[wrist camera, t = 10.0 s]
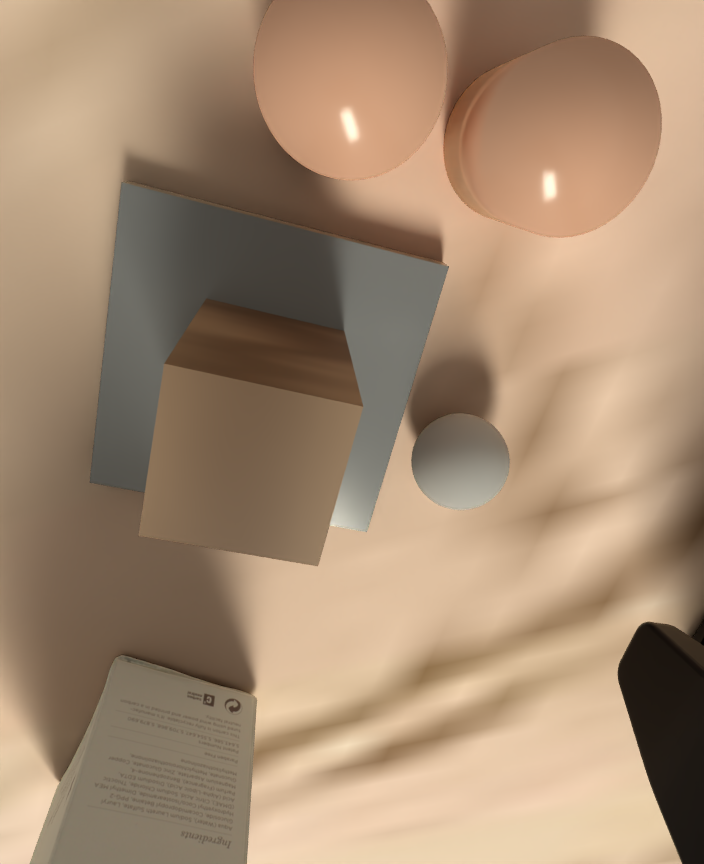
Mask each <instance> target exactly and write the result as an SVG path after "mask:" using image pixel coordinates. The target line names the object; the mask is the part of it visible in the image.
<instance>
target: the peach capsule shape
mask: <svg viewBox="0 0 704 864" xmlns="http://www.w3.org/2000/svg"><path fill="white" fill-rule="evenodd" d="M447 75H448V74H447V54H446V46H445V42H444V38H443V34H442V31H441V28H440V25H439V23H438V20H437V18H436V16H435V14H434V12H433V10H432V8H431V6H430V4H429V3H428V2H427V0H273V1H272V3H271V4H270V6H269V8H268V10H267V12H266V14H265V16H264V18H263V20H262V23H261V26H260V28H259V31H258V35H257V40H256V44H255V50H254V60H253V77H254V85H255V92H256V96H257V100H258V104H259V107H260V110H261V112H262V115H263V118H264V120H265V122H266V124H267V126H268V128H269V130H270V131H271V133H272V134H273V136H274V137H275V139H276V140H277V142H278V143H279V144H280V145H281V146H282V148H283V149H284V150H285V151H286V152H287V153H288V154H289V155H290V156H291V157H293V158H294V159H295V160H296V161H297V162H299V163H300V164H302V165H303V166H305V167H306V168H308V169H310V170H312V171H314V172H316V173H318V174H321V175H324V176H327V177H330V178H335V179H340V180H362V179H368V178H372V177H376V176H379V175H382V174H384V173H387V172H389V171H391V170H392V169H394V168H396V167H398V166H399V165H401V164H402V163H403V162H405V161H406V160H407V159H409V158H410V157H411V156H412V155H413V154H414V153H415V152H416V151H417V150H418V149H419V148H420V146H421V145H422V144H423V143H424V141H425V140H426V139H427V137H428V136H429V134H430V132H431V131H432V129H433V127H434V125H435V123H436V121H437V119H438V117H439V114H440V111H441V108H442V105H443V101H444V97H445V92H446V85H447Z"/></svg>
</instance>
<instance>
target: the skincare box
mask: <svg viewBox="0 0 704 864" xmlns="http://www.w3.org/2000/svg"><path fill="white" fill-rule="evenodd" d="M256 706H257V699H256V697H255V696H253V695H251V694H249V693H246V692H243V691H240V690H236V689H232V688H227V687H223V686H219V685H216V684H213V683H209V682H206V681H203V680H200V679H197V678H194V677H191V676H188V675H185V674H183V673H180V672H177V671H174V670H171V669H168V668H165V667H161V666H158V665H155V664H151V663H148V662H145V661H142V660H138V659H135V658H132V657H129V656H124V655H121V656H119V657H117V658H115V660H114V662H113V664H112V666H111V668H110V671H109V674H108V677H107V681H106V684H105V687H104V690H103V693H102V695H101V697H100V700H99V702H98V705H97V707H96V710H95V712H94V715H93V717H92V720H91V722H90V724H89V726H88V728H87V730H86V733H85V735H84V737H83V739H82V741H81V743H80V745H79V747H78V749H77V751H76V753H75V755H74V757H73V759H72V761H71V763H70V765H69V767H68V769H67V770H66V772H65V774H64V775H63V777H62V779H61V781H60V783H59V785H58V787H57V789H56V792H55V794H54V797H53V800H52V803H51V806H50V808H49V811H48V814H47V817H46V819H45V822H44V825H43V828H42V831H41V833H40V836H39V839H38V842H37V844H36V847H35V850H34V853H33V856H32V859H31V862H30V864H247V851H248V835H249V818H250V803H251V787H252V770H253V754H254V739H255V721H256Z"/></svg>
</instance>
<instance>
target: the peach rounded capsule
mask: <svg viewBox="0 0 704 864" xmlns="http://www.w3.org/2000/svg"><path fill="white" fill-rule="evenodd" d="M661 129H662V115H661V107H660V101H659V97H658V93H657V90H656V87H655V85H654V82H653V80H652V78H651V76H650V74H649V73H648V71H647V69H646V68H645V66H644V65H643V64H642V63H641V62H640V60H639V59H638V58H637V57H636V56H635V55H634V54H632V53H631V52H630V51H629V50H627V49H626V48H624V47H623V46H621V45H620V44H618V43H615V42H613V41H611V40H608V39H604V38H600V37H594V36H575V37H569V38H565V39H560V40H558V41H555V42H552V43H550V44H547V45H545V46H543V47H541V48H538V49H536V50H534V51H531V52H529V53H527V54H525V55H522V56H520V57H518V58H515V59H513V60H511V61H509V62H506V63H504V64H502V65H500V66H497V67H495V68H493V69H491V70H489V71H487V72H486V73H484V74H483V75H481V76H480V77H479V78H477V79H476V80H475V81H474V82H473V83H472V84H471V85H470V86H469V87H468V88H467V89H466V90H465V91H464V93H463V94H462V95H461V96H460V98H459V100H458V101H457V103H456V104H455V106H454V108H453V110H452V112H451V115H450V117H449V120H448V123H447V127H446V131H445V137H444V162H445V168H446V172H447V175H448V178H449V180H450V183H451V185H452V187H453V189H454V190H455V192H456V194H457V195H458V196H459V198H460V199H461V200H462V201H463V202H464V203H465V204H466V205H467V206H468V207H469V208H471V209H472V210H473V211H475V212H477V213H478V214H480V215H482V216H485V217H488V218H490V219H493V220H496V221H499V222H502V223H505V224H508V225H511V226H514V227H517V228H520V229H523V230H526V231H529V232H532V233H535V234H538V235H542V236H547V237H558V238H562V237H572V236H577V235H581V234H584V233H587V232H590V231H593V230H595V229H597V228H599V227H601V226H603V225H605V224H606V223H607V222H609V221H610V220H612V219H613V218H615V217H616V216H617V215H618V214H620V213H621V212H622V211H623V210H624V209H625V208H626V207H627V206H628V205H629V204H630V203H631V202H632V201H633V199H634V198H635V197H636V195H637V194H638V193H639V191H640V190H641V188H642V187H643V185H644V184H645V182H646V180H647V178H648V176H649V174H650V172H651V170H652V168H653V165H654V162H655V159H656V156H657V153H658V149H659V144H660V138H661Z"/></svg>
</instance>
